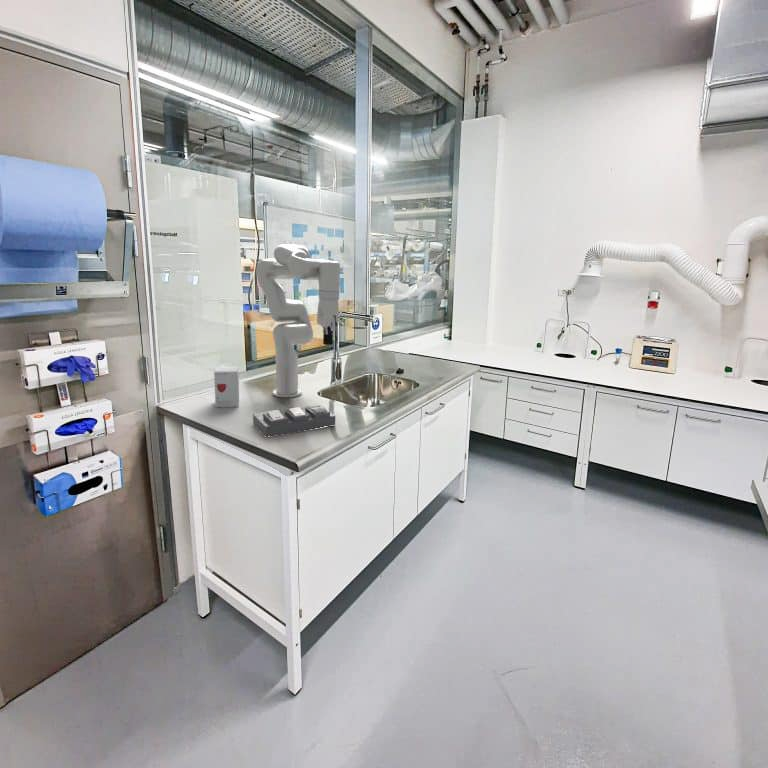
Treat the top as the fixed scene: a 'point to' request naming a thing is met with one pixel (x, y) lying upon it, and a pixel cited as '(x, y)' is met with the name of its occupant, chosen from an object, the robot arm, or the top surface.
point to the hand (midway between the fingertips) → (327, 344)
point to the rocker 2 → (318, 409)
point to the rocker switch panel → (293, 421)
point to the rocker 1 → (275, 415)
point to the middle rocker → (296, 411)
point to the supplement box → (226, 386)
